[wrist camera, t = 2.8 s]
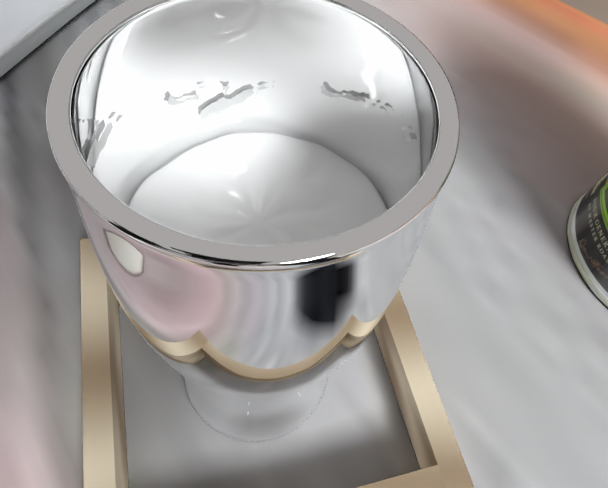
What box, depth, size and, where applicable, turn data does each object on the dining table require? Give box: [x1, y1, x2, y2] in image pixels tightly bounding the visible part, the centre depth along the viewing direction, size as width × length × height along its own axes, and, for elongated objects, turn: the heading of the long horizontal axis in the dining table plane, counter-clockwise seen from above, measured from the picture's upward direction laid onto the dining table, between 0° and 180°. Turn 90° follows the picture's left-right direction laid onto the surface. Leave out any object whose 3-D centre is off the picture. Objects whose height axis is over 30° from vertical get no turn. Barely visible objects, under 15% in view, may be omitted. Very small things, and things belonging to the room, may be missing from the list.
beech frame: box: [80, 238, 474, 488], centre depth 20 cm, size 13×13×2 cm
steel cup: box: [46, 0, 460, 441], centre depth 14 cm, size 7×7×15 cm
